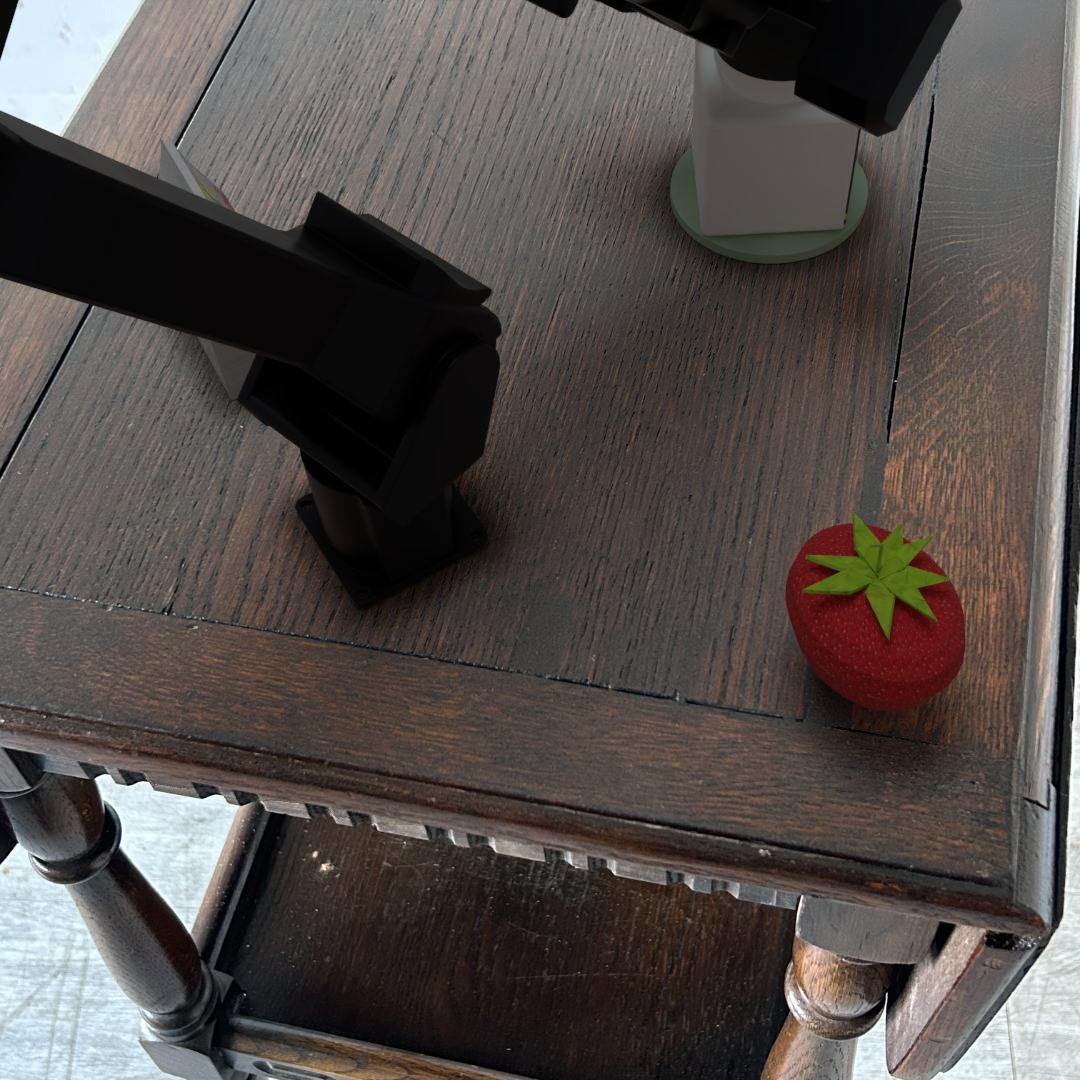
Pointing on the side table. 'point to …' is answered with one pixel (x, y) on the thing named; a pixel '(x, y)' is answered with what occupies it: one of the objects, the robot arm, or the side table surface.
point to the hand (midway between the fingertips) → (800, 30)
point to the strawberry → (875, 616)
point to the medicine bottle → (766, 139)
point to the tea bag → (184, 175)
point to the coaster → (767, 244)
